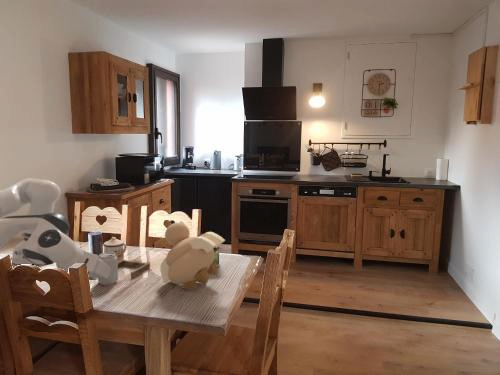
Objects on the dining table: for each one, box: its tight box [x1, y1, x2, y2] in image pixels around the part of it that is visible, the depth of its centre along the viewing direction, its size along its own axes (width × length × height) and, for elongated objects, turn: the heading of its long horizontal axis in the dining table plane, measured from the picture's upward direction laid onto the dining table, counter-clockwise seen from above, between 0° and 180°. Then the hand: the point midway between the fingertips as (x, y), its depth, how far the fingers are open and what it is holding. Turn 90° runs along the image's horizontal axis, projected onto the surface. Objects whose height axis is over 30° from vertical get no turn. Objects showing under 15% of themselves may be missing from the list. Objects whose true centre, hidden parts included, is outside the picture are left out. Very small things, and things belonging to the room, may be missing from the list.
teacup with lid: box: [103, 236, 127, 263], centre depth 181 cm, size 12×9×12 cm
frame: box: [118, 259, 151, 279], centre depth 167 cm, size 14×13×2 cm
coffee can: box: [197, 232, 220, 267], centre depth 177 cm, size 10×10×14 cm
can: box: [97, 252, 119, 286], centre depth 153 cm, size 8×8×12 cm
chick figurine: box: [159, 220, 226, 293], centre depth 151 cm, size 30×28×23 cm
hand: (93, 277), depth 145 cm, fingers closed
